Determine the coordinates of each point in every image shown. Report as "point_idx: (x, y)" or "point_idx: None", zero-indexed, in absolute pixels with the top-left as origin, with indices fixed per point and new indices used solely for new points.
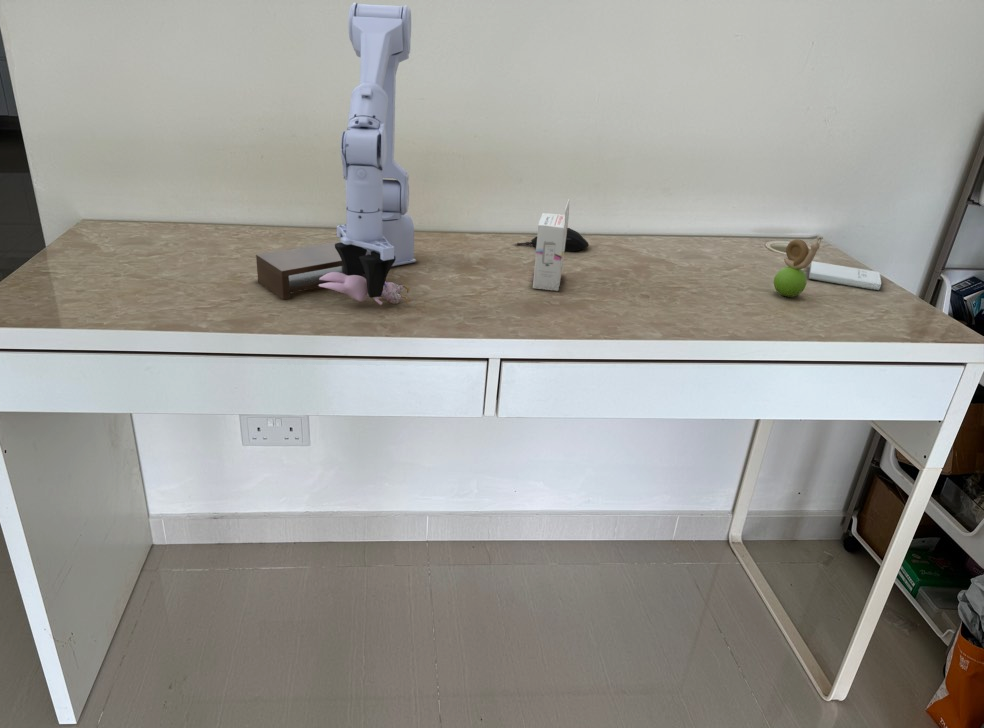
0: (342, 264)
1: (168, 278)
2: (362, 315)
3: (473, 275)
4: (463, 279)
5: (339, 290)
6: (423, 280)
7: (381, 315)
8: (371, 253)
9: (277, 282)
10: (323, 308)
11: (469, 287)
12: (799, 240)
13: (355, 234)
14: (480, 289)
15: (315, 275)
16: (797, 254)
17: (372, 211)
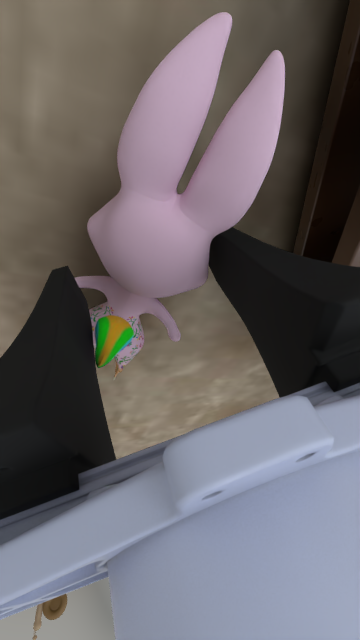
0: (342, 245)
1: None
2: (5, 197)
3: (203, 418)
4: (194, 410)
5: (119, 146)
6: (222, 368)
7: (4, 264)
8: (58, 476)
9: None
10: (126, 16)
11: (157, 416)
12: (54, 618)
13: (180, 622)
14: (142, 426)
15: None
16: (53, 601)
17: None
